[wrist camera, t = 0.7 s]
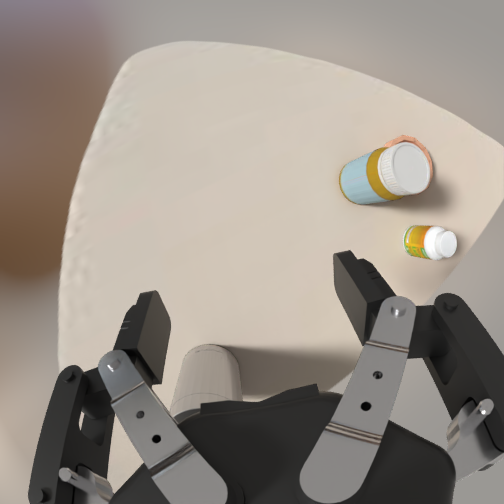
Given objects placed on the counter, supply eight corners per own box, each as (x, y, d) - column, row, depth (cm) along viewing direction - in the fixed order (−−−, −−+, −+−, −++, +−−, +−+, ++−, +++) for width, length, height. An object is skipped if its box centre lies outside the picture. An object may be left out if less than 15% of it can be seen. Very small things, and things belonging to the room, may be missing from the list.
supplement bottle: (397, 248, 45) (432, 253, 35) (407, 220, 44) (443, 219, 35) (417, 260, 45) (453, 267, 36) (427, 233, 45) (463, 236, 36)
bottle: (343, 208, 43) (396, 202, 28) (332, 165, 42) (380, 140, 28) (379, 200, 44) (438, 192, 29) (369, 159, 43) (423, 136, 28)
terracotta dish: (425, 197, 44) (433, 196, 42) (381, 191, 44) (389, 190, 41) (422, 144, 44) (429, 141, 41) (378, 135, 43) (385, 131, 40)
